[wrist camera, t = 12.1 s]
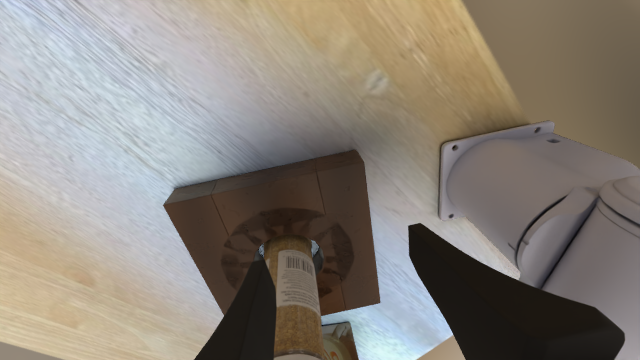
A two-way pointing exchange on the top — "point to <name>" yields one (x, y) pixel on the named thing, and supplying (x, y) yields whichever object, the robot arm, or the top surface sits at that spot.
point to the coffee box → (339, 342)
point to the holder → (283, 226)
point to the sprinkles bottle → (295, 298)
